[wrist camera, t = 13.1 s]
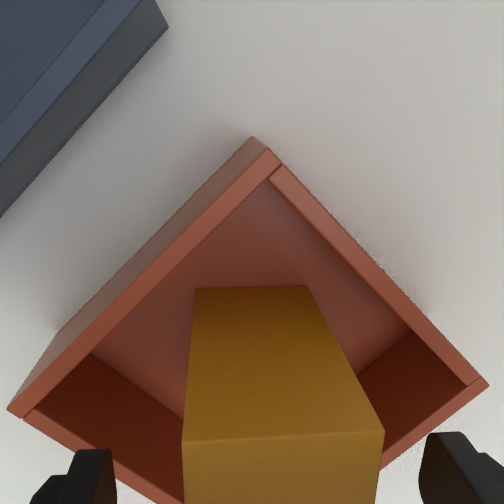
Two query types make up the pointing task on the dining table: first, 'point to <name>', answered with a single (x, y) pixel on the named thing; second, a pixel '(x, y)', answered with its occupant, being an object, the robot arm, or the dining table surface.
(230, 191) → the terracotta bin
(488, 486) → the robot arm
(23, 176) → the slate bin
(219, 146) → the dining table surface
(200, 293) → the mustard box
